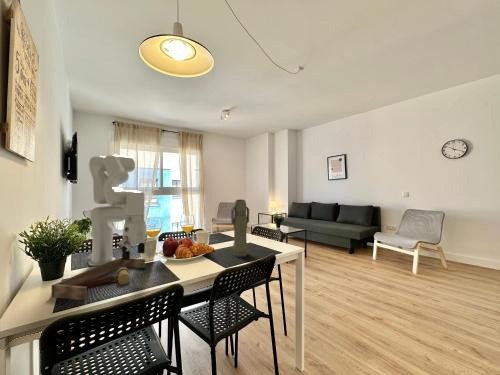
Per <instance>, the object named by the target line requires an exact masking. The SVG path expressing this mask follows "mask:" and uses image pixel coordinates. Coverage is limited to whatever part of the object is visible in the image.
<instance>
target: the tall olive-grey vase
mask: <svg viewBox="0 0 500 375" xmlns="http://www.w3.org/2000/svg"><path fill="white" fill-rule="evenodd" d="M230 210H231V212H230V216H231V217H230V218H231V219H230V221H231V222H230V223H231V224H232V225H233V226H232V227H233V232H234V233H233V244H232V246H233V248H232V250H233V256H234V257H238V258H241V257H242V258H243V257H246V256H248V243H247V230H248V229H247V228H248V224H249V222H250V208H249V207H248V206H247V203H246V200H245V199H236V200H235V201H234V206H233V207H231V209H230Z"/></svg>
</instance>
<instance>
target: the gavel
mask: <svg viewBox="0 0 500 375" xmlns="http://www.w3.org/2000/svg"><path fill="white" fill-rule="evenodd" d="M130 279H131V277H130V274H129V270H128V267H119V269H118V270H117V272H116V274H115V275H109V276H105V277H101V278H95V279H92V280H90V281H87V282H83V283H80V284H78V285H76V286H83V287H87V289H88V288H92V287H96V286H99V285H105V284H107V283H112V282H114V281H117V283H118V284H119V285H126V284H128V283H129V281H130Z"/></svg>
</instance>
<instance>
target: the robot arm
mask: <svg viewBox="0 0 500 375" xmlns="http://www.w3.org/2000/svg"><path fill="white" fill-rule="evenodd" d="M88 167H89V171H90V174H91V177H92V181H93V188H92V190H93V202H94V203H95V204H99V205H108V206H97V207H94V208H92V210H91V211H90V213H89V214H90V220H91V230H92V231H91V232H92V234H91V236H92V237H91V238H92V248H91V253H90V254H89V255H87V259H90V261H88V266H92V267H98V266H100V265H103V264H105V263H107V262H110V261H112V260H115V259H117V258H116V257H114V256H113V240H114V239H113V229H112V227H111V226H110V225H109V224H110V223H119V222H124V225H123V230H122V232H123V233H122V239H121V240H120V241H119V242H118V243H117V244H118V246H119V249H120V251H121V252H122V255H121V257H122V260H127V261H128V260H130V258H131V251H130V249H131V248H132V247H133V246H137V253H138V254H145V252H146V248H145V247H146V241H147V240H148V239H147V238H148V236H149V234H148V233H147V226H146V221H145V198H146V197H145V196H146V195H145V192H144V191H140V190H136V189H124V188H122V187H117V186H121V185H123V184H124V183H126V182H127V181H128V180H129V177H130V176H129V173H131V172H134V170H135V169H136V163H135V160H134V159H133V158H132V157H131V156H129V155H128V156H127V155H118V154H109V155H106V156H104V155H95V156H91V157H90V159H89V161H88Z"/></svg>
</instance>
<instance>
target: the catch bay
mask: <svg viewBox="0 0 500 375" xmlns="http://www.w3.org/2000/svg"><path fill="white" fill-rule="evenodd" d="M121 267H123V268H142V269H144V268H146V259H145V258H140V257H139V258H138V257H130V260H128V261H127V260H122V256H120V257H118V258H116V259H115V260H112V261H110V262H107V263H105V264H103V265H100V266H94V268H91V269H88V270H86V271H83V272H81V273H78V274H75V275H73V276H70V277H68V278H66V279H63V280H60V281H58V282H55V283H53V284H51V290H50V291H51V293H50V294H51V298H58V299H66V300H67V299H69V300H77V301H86V300H87V299H88V288H87V287H83V286H76V285H78V284H80V283H83V282H87V281H92V280H96V279H98V278H99V277H100V276H103V275H106V274H107V273H110V272H113V271H114V270H116V269H118V268H121Z"/></svg>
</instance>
